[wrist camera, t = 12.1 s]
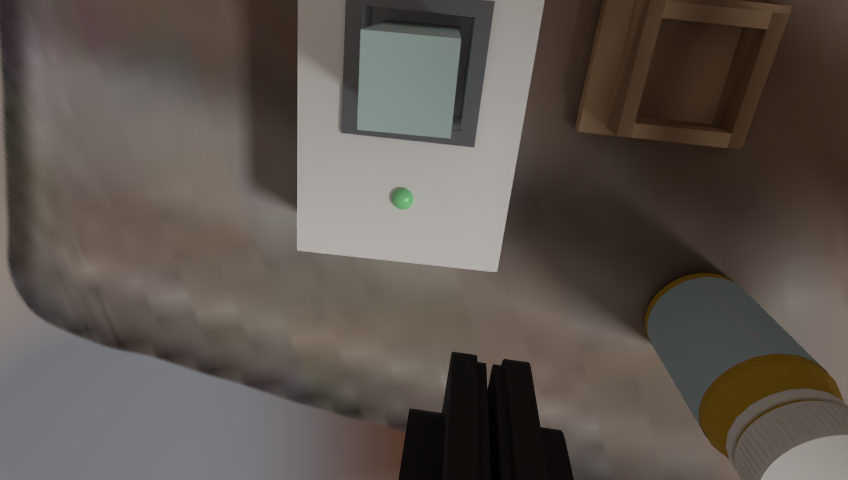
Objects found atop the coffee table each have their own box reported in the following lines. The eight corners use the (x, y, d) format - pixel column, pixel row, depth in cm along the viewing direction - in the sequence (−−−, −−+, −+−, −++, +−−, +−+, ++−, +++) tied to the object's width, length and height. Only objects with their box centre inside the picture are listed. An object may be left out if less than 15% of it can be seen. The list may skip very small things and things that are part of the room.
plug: (458, 26, 30) (462, 37, 21) (451, 100, 32) (451, 139, 23) (386, 19, 30) (359, 27, 21) (382, 93, 32) (355, 130, 23)
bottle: (636, 280, 37) (744, 441, 24) (742, 259, 36) (918, 414, 23) (646, 360, 40) (748, 546, 26) (744, 342, 39) (903, 526, 25)
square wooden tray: (782, 5, 30) (822, 6, 27) (734, 145, 33) (764, 161, 30) (605, -14, 30) (623, -16, 27) (574, 128, 33) (587, 141, 30)
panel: (534, -22, 30) (550, -26, 25) (491, 238, 37) (497, 273, 32) (321, -45, 30) (296, -54, 25) (316, 219, 37) (296, 251, 32)
